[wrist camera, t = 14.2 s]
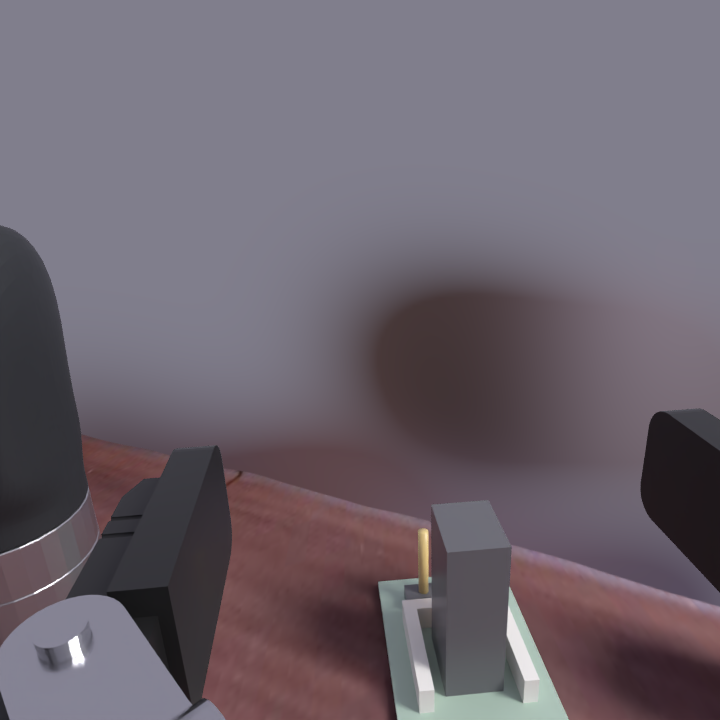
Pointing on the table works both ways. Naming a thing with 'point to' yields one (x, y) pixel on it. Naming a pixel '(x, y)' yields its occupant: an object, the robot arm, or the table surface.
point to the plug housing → (469, 596)
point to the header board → (421, 671)
